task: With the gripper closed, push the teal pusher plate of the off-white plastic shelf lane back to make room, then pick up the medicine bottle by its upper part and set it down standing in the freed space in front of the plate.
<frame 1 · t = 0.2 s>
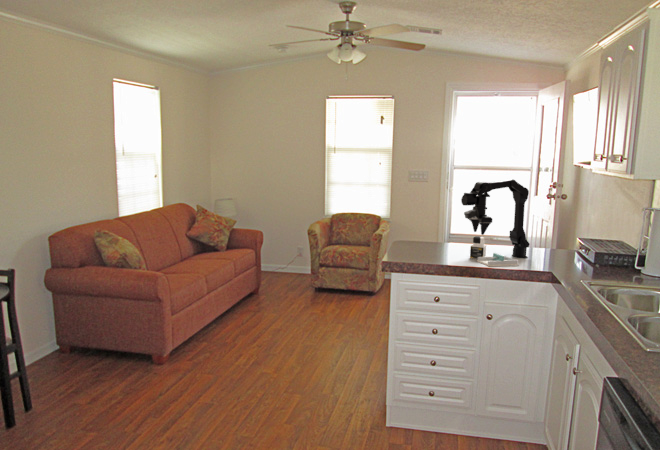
hand: (478, 233, 279), 14 cm above the worktop, fingers open, 9 cm apart
lane: (497, 263, 270), on the worktop
pusher: (492, 258, 269), point 3 cm above the worktop, slide at 0.0 cm
medicine bottle: (477, 258, 283), on the worktop
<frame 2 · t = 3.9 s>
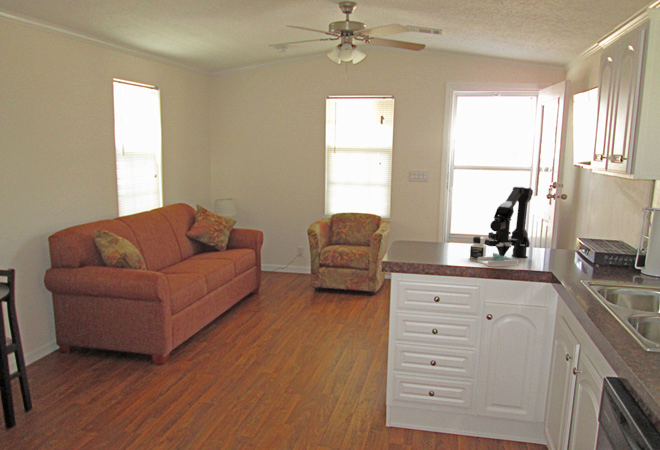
hand: (501, 258, 270), 3 cm above the worktop, fingers closed
pusher: (492, 258, 269), point 3 cm above the worktop, slide at 0.2 cm, touching gripper
everything else where it was.
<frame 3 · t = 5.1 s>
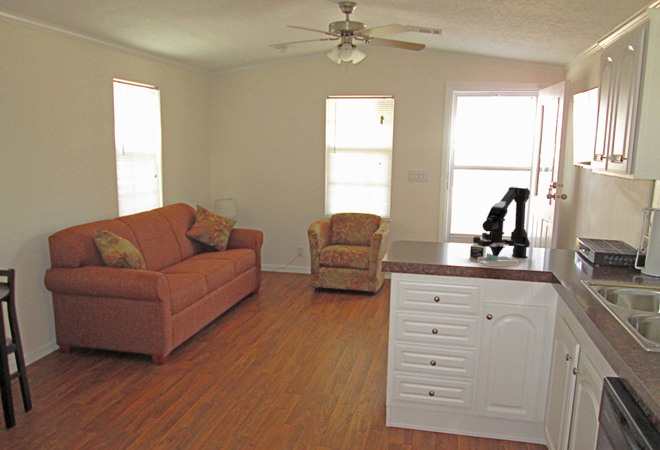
hand: (495, 258, 269), 3 cm above the worktop, fingers closed
pusher: (485, 258, 268), point 3 cm above the worktop, slide at 4.0 cm, touching gripper
everything else where it was.
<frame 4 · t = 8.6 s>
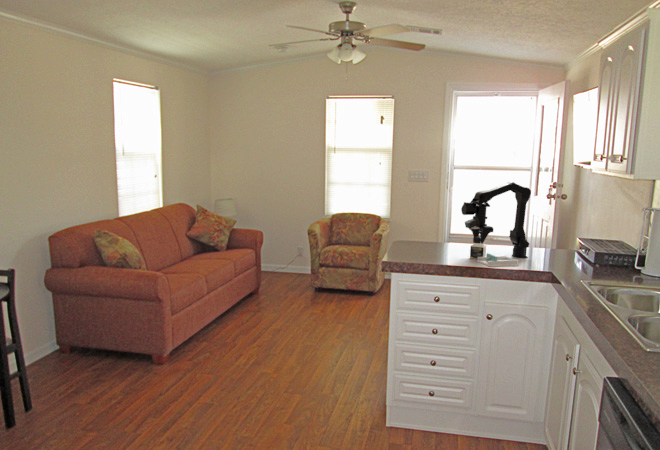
hand: (478, 242, 282), 9 cm above the worktop, fingers closed on medicine bottle, 6 cm apart
pusher: (485, 258, 268), point 3 cm above the worktop, slide at 4.0 cm
medicine bottle: (477, 258, 283), on the worktop, touching gripper
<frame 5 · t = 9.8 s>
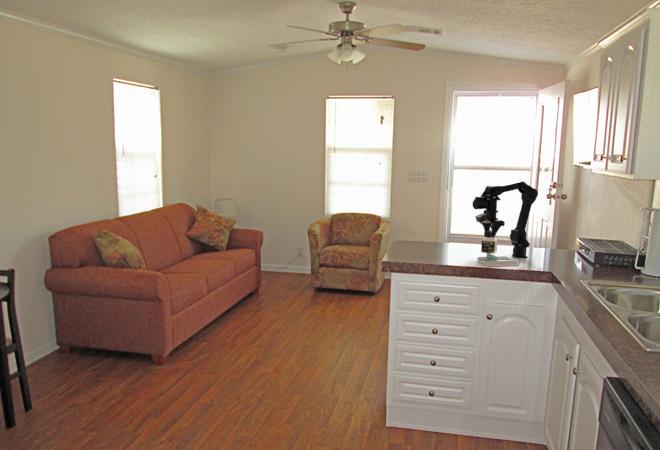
hand: (489, 236, 280), 12 cm above the worktop, fingers closed on medicine bottle, 6 cm apart
medicine bottle: (488, 252, 281), point 3 cm above the worktop, touching gripper
everything else where it was.
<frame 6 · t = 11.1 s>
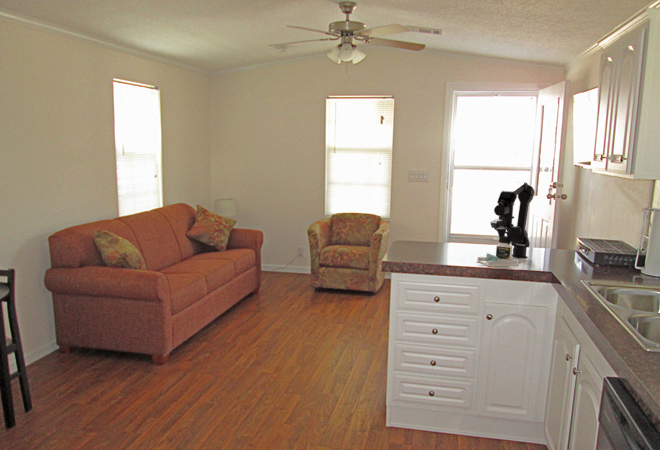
hand: (504, 243, 270), 11 cm above the worktop, fingers closed on medicine bottle, 6 cm apart
medicine bottle: (503, 258, 271), point 2 cm above the worktop, touching gripper, lane
everything else where it was.
when the fingers open (10 cm above the worktop, at t = 11.6 s): medicine bottle stays where it is, resting on lane.
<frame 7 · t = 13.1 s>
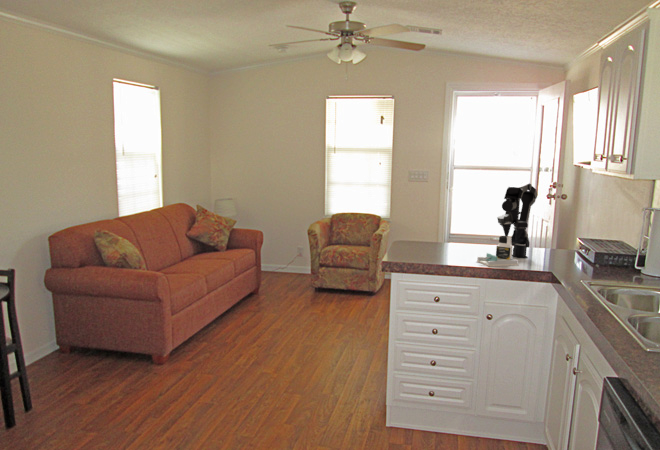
hand: (511, 238, 274), 13 cm above the worktop, fingers open, 9 cm apart
medicine bottle: (503, 258, 271), point 2 cm above the worktop, touching lane
everything else where it was.
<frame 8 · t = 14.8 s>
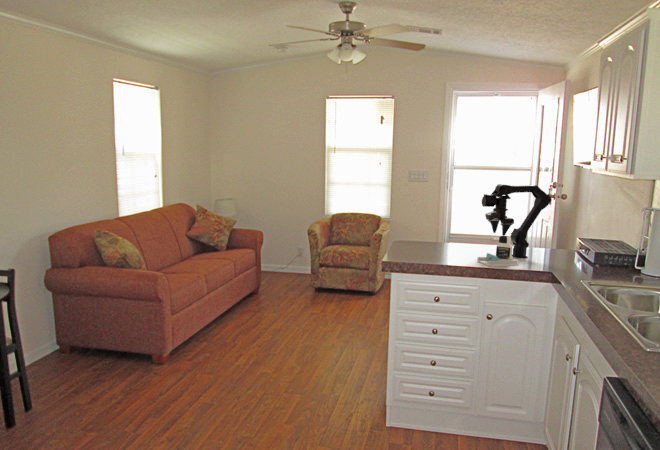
hand: (498, 234, 285), 13 cm above the worktop, fingers open, 9 cm apart
nothing on the worktop moved.
at the end: medicine bottle inside the target area on the lane (0.6 cm from its centre), point 2.3 cm above the lane's base; medicine bottle tilted 0°; pusher slide at 4.0 cm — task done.
